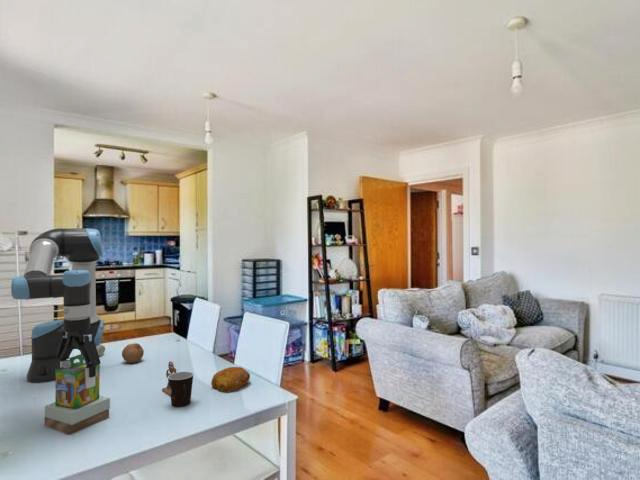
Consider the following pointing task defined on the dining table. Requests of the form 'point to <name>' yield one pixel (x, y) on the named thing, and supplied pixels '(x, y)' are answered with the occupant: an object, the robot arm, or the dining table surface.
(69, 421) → the grey-green top slab
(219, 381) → the potato
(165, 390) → the brown scrollwork ornament
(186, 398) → the coffee mug
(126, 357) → the onion
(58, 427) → the walnut base slab
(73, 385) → the chalk box
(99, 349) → the grey rounded lump
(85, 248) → the robot arm
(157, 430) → the dining table surface
